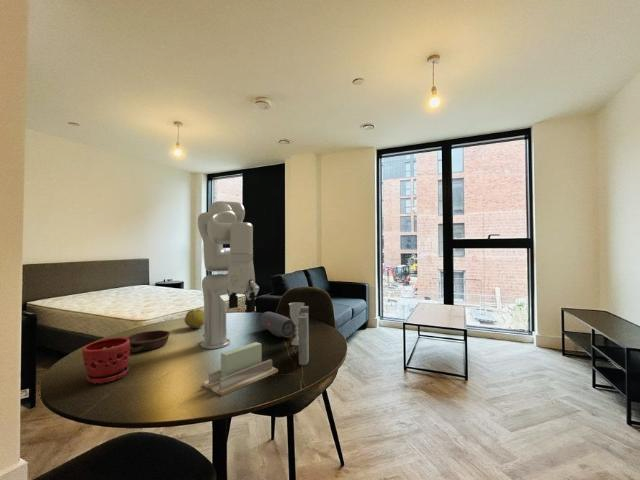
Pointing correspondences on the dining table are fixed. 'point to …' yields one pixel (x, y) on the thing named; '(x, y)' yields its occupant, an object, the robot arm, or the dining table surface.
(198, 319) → the fruit
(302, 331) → the hip flask
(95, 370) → the plant pot
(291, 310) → the chalice
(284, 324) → the bluetooth speaker
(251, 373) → the track
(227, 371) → the door panel
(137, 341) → the dish
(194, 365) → the dining table surface
